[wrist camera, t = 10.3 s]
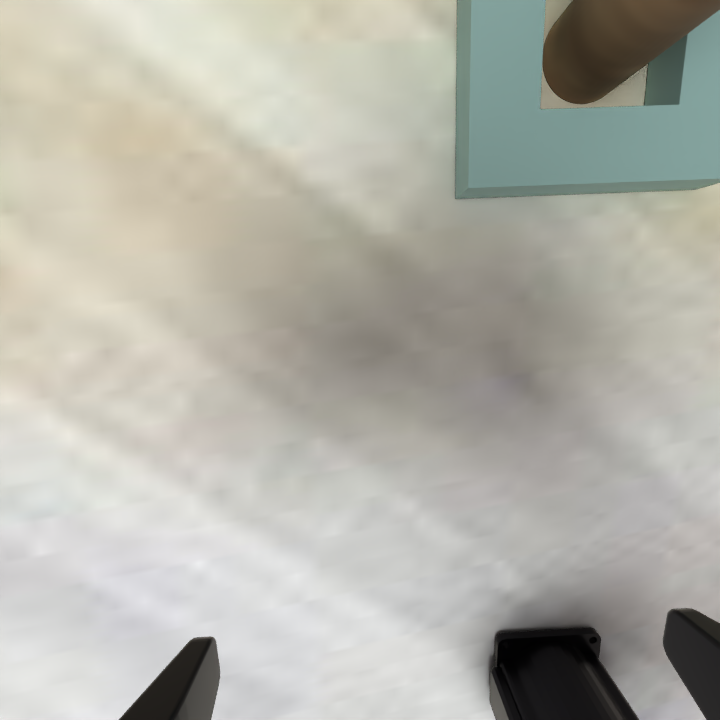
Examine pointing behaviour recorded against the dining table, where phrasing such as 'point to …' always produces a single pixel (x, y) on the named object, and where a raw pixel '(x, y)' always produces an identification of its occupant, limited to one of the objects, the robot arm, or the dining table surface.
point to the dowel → (614, 41)
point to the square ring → (578, 115)
